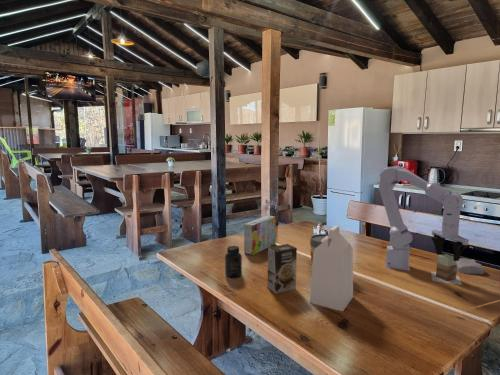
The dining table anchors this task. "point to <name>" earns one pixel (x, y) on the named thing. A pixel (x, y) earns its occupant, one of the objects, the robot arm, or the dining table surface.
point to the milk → (332, 272)
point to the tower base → (446, 275)
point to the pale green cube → (446, 260)
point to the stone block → (469, 266)
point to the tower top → (446, 268)
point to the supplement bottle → (233, 262)
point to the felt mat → (456, 281)
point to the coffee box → (282, 268)
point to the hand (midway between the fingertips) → (447, 257)
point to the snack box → (259, 235)
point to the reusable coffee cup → (316, 242)
